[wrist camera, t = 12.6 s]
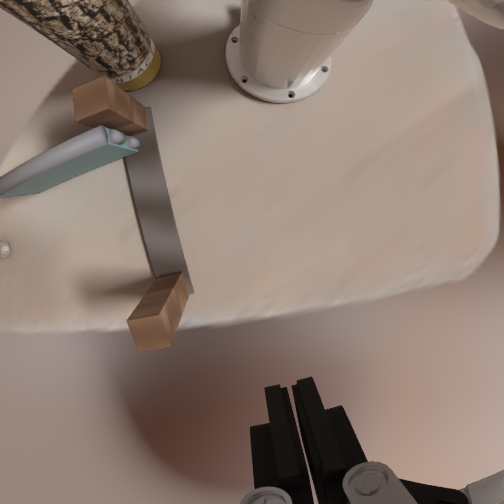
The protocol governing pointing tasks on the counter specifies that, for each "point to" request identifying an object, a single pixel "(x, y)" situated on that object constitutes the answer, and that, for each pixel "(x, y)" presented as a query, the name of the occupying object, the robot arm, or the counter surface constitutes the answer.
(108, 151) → the gate
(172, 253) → the gate frame
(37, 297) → the counter surface
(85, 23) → the wooden log
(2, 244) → the lightbulb
